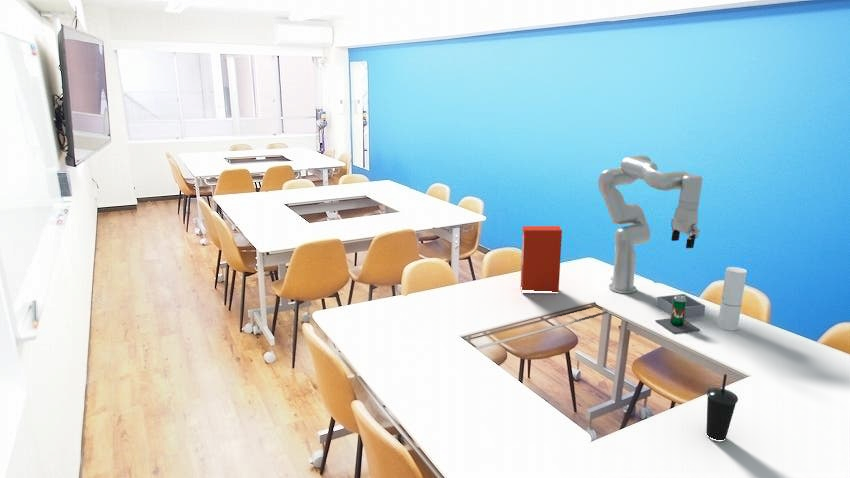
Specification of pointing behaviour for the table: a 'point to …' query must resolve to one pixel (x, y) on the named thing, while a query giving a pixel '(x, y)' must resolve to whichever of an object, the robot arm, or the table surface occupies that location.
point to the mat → (677, 329)
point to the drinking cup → (719, 411)
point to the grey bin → (692, 305)
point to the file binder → (541, 258)
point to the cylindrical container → (732, 298)
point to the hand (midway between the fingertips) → (682, 244)
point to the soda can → (678, 310)
